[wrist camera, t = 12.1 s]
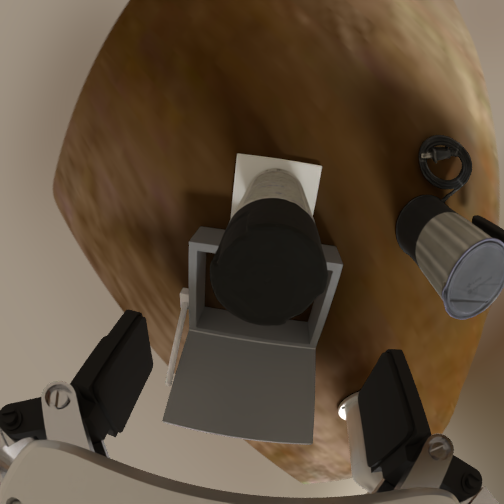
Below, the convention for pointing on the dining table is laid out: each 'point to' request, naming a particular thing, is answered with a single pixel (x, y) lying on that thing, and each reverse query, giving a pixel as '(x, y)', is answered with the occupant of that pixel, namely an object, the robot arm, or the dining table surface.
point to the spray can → (270, 253)
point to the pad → (255, 164)
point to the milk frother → (452, 239)
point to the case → (244, 362)
